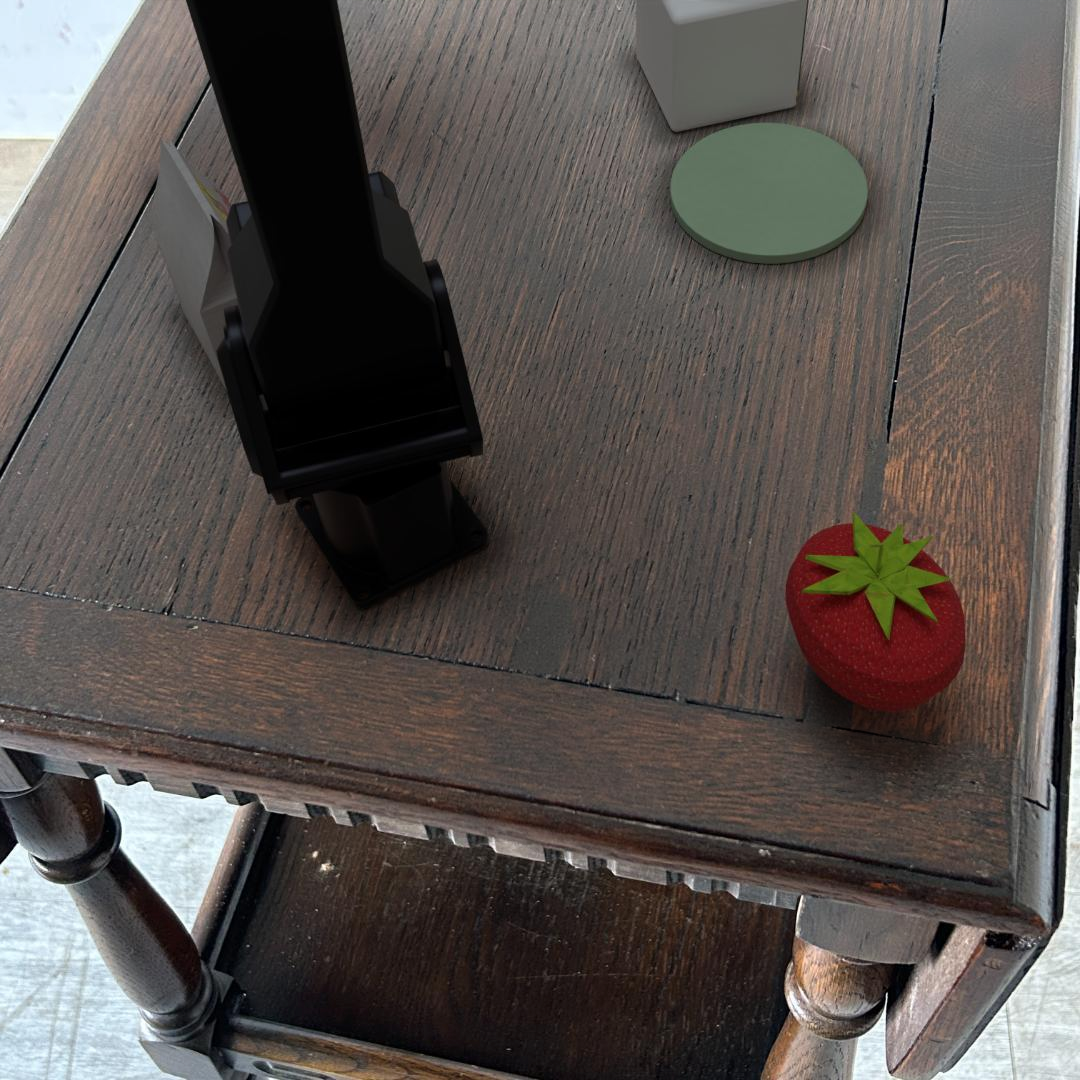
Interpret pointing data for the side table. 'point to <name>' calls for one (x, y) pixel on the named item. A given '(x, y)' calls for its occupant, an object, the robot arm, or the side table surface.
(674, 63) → the medicine bottle
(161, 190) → the tea bag
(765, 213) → the coaster
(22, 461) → the side table surface
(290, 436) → the robot arm
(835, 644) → the strawberry
